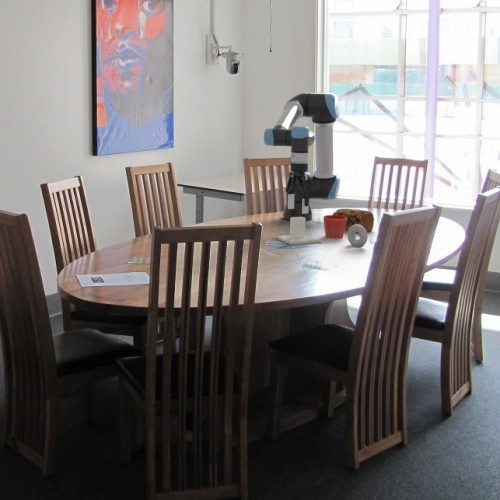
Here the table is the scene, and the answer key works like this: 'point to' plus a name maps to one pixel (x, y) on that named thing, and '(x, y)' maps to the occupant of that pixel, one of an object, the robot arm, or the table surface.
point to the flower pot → (334, 226)
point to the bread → (357, 218)
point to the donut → (362, 233)
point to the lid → (297, 232)
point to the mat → (297, 244)
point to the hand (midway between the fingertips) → (297, 211)
